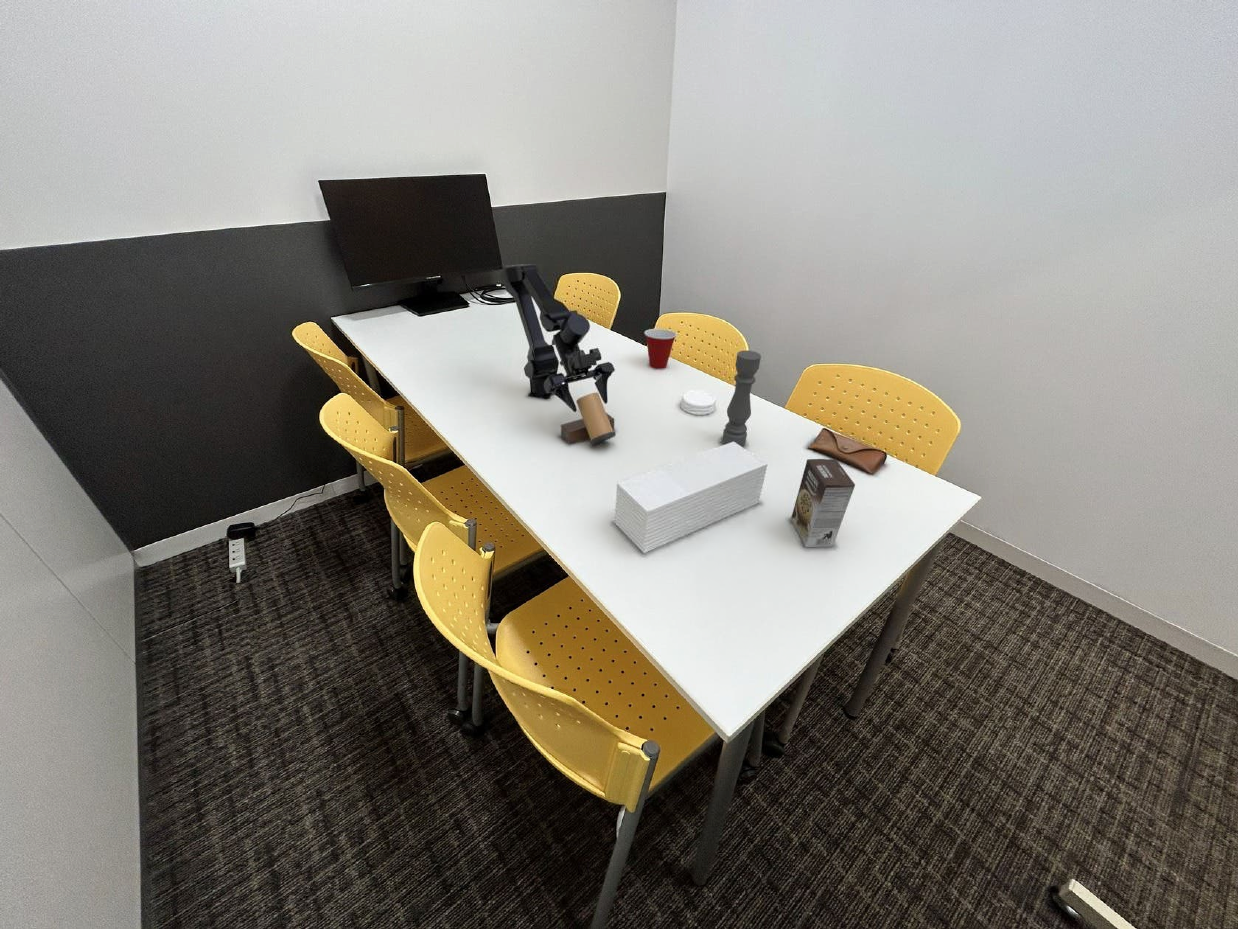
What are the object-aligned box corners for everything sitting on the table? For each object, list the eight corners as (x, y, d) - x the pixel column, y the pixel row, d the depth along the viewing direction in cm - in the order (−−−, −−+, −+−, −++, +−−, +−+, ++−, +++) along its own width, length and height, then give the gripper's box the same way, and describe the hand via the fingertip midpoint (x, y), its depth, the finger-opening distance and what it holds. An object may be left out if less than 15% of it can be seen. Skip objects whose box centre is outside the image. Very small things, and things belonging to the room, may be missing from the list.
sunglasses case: (805, 447, 141) (816, 423, 140) (812, 450, 147) (823, 427, 146) (873, 475, 131) (886, 450, 130) (878, 477, 137) (890, 453, 136)
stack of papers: (643, 553, 106) (647, 511, 100) (615, 523, 114) (616, 482, 108) (758, 503, 121) (767, 463, 115) (726, 479, 129) (733, 441, 122)
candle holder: (746, 439, 144) (763, 352, 130) (743, 450, 139) (760, 361, 125) (723, 435, 146) (738, 348, 132) (719, 446, 141) (734, 357, 127)
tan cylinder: (572, 432, 144) (571, 389, 137) (593, 426, 147) (594, 383, 140) (596, 455, 135) (597, 410, 128) (619, 447, 139) (621, 403, 131)
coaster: (673, 407, 158) (675, 396, 156) (693, 396, 164) (695, 386, 163) (701, 419, 153) (702, 408, 151) (720, 407, 159) (722, 397, 157)
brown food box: (789, 519, 117) (805, 458, 108) (817, 518, 117) (836, 457, 108) (804, 548, 109) (824, 484, 100) (834, 547, 110) (856, 484, 101)
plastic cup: (674, 360, 187) (677, 327, 181) (673, 373, 178) (677, 338, 172) (643, 358, 188) (645, 325, 181) (641, 370, 179) (643, 336, 172)
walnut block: (560, 436, 142) (560, 424, 140) (605, 423, 149) (605, 411, 147) (569, 444, 139) (568, 432, 137) (614, 430, 146) (614, 418, 144)
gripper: (546, 345, 128) (569, 404, 126) (611, 332, 137) (634, 387, 135) (534, 364, 138) (555, 420, 136) (595, 351, 146) (616, 403, 145)
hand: (591, 407), depth 138 cm, fingers open, 9 cm apart
